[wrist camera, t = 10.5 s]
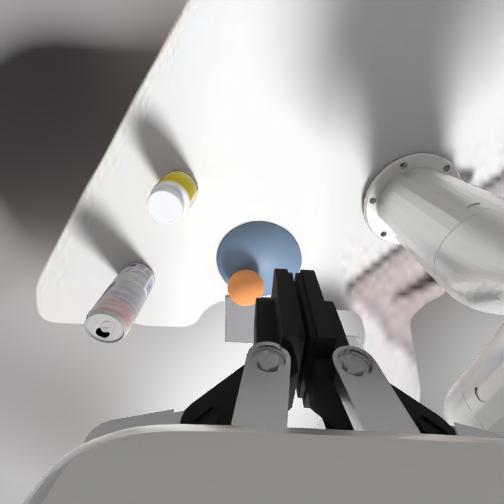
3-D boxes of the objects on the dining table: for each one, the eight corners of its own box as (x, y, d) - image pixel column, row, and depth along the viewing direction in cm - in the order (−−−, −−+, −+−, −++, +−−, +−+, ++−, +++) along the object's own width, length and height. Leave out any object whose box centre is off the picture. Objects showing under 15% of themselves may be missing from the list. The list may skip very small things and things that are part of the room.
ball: (258, 312, 46) (260, 279, 48) (266, 301, 41) (268, 266, 44) (223, 308, 45) (227, 275, 48) (227, 297, 40) (231, 261, 43)
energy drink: (116, 279, 47) (76, 332, 37) (130, 255, 45) (91, 305, 35) (146, 295, 49) (116, 350, 38) (161, 273, 47) (133, 325, 36)
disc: (307, 224, 42) (307, 225, 42) (295, 297, 49) (295, 298, 48) (216, 219, 42) (216, 220, 42) (216, 293, 48) (216, 294, 48)
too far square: (286, 299, 49) (286, 300, 49) (280, 343, 54) (280, 344, 53) (226, 296, 49) (225, 296, 48) (225, 340, 53) (225, 341, 53)
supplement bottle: (165, 164, 39) (144, 181, 31) (201, 173, 39) (188, 192, 32) (162, 199, 41) (141, 222, 34) (195, 207, 41) (182, 231, 34)
